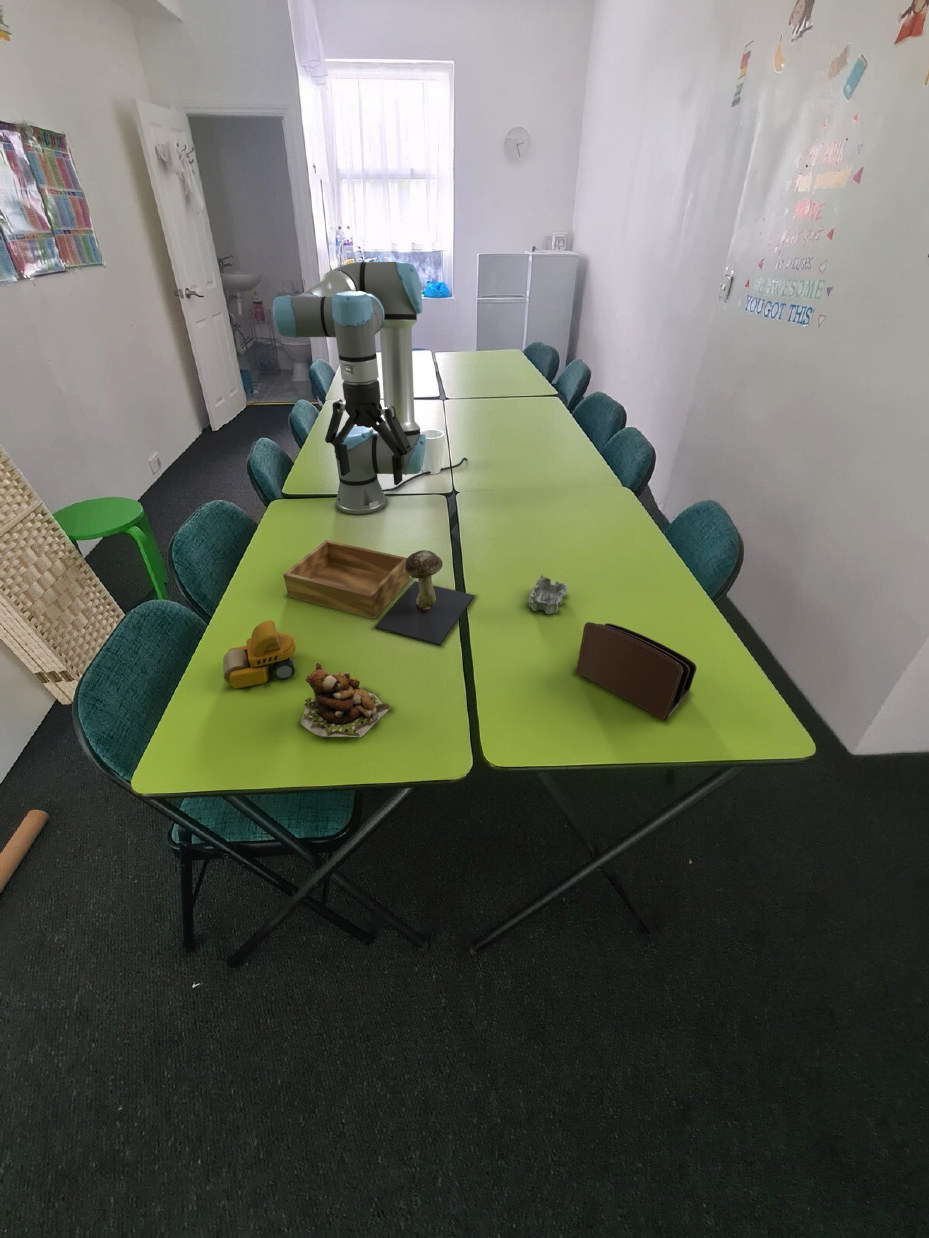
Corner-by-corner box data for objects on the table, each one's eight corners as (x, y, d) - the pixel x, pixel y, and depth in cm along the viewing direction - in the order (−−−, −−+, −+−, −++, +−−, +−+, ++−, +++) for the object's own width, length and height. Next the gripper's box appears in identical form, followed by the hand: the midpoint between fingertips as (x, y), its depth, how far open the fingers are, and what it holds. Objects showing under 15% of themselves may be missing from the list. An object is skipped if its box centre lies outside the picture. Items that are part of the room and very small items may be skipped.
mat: (415, 583, 140) (415, 581, 140) (474, 597, 135) (474, 595, 135) (375, 628, 125) (374, 626, 125) (439, 646, 120) (439, 643, 120)
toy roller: (226, 665, 116) (212, 625, 109) (296, 649, 120) (287, 610, 113) (227, 694, 109) (213, 653, 103) (302, 676, 113) (292, 635, 107)
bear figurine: (360, 753, 97) (352, 704, 90) (289, 728, 102) (276, 679, 94) (397, 701, 107) (392, 653, 100) (331, 680, 112) (322, 633, 104)
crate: (329, 560, 149) (326, 539, 145) (409, 579, 141) (408, 558, 138) (288, 596, 136) (282, 574, 132) (374, 619, 128) (371, 596, 124)
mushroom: (438, 624, 126) (436, 567, 116) (402, 619, 127) (397, 563, 118) (448, 600, 133) (447, 545, 124) (413, 596, 134) (409, 541, 125)
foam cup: (416, 474, 195) (413, 437, 187) (422, 464, 202) (420, 428, 194) (442, 476, 193) (441, 439, 186) (447, 466, 201) (446, 430, 193)
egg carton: (540, 586, 139) (541, 572, 136) (569, 594, 136) (571, 580, 134) (524, 609, 131) (525, 594, 129) (554, 617, 128) (556, 603, 126)
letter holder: (665, 722, 103) (683, 665, 94) (574, 673, 113) (583, 618, 105) (689, 693, 109) (707, 637, 100) (600, 649, 119) (610, 595, 111)
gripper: (298, 379, 115) (315, 476, 128) (407, 392, 107) (414, 493, 121) (318, 369, 120) (333, 463, 133) (423, 381, 113) (428, 479, 126)
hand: (371, 478), depth 127 cm, fingers open, 13 cm apart
